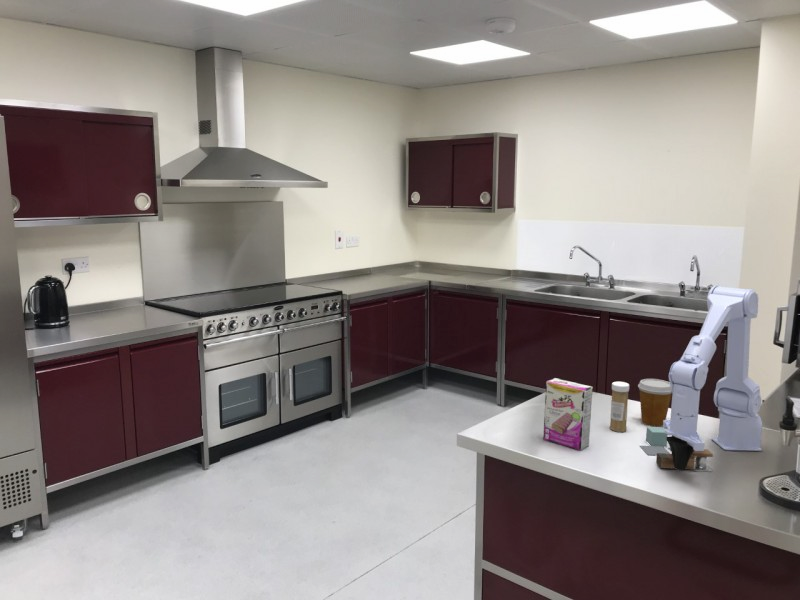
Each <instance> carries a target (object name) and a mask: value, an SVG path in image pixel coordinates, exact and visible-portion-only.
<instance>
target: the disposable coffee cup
mask: <svg viewBox="0 0 800 600" xmlns="http://www.w3.org/2000/svg"><path fill="white" fill-rule="evenodd" d="M637 387H638V389H639V399H640V417H641V423H642V424H644V425H646V426H649V425H650V426H649V427H656V426H657V427H663V420H667V416H668V411H669V407H670V403H671V399H672V393H673V392H672V391H671V390H670V381H668V380H667V381H666V380H663V379H658V378H644V379H640V381H639V383H638V384H637Z"/></svg>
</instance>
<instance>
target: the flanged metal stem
mask: <svg viewBox="0 0 800 600" xmlns="http://www.w3.org/2000/svg"><path fill="white" fill-rule="evenodd" d="M707 459H708V457H696V458H695V462H694V469H693V470H694V471H695V472H704V473H705V472H707V473H708V472H713V471H714V470H713V469H712V468H711V467H710V466H709V465H707V462H708V460H707Z"/></svg>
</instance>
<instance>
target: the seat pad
mask: <svg viewBox="0 0 800 600" xmlns="http://www.w3.org/2000/svg"><path fill="white" fill-rule="evenodd" d="M639 448H640V449H642V451H643V452H644V453H645V454H646V455H647V456H656V457H657V453H665V454H671V452H669V451H668V450H667V449H666V447H663V446H650V445H639Z"/></svg>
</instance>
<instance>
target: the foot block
mask: <svg viewBox="0 0 800 600" xmlns="http://www.w3.org/2000/svg"><path fill="white" fill-rule="evenodd" d="M665 430H666V429H664V428H663V426H660V427H656V426H646V431H645V432H646V433H645V435H646V436H645V441H647V442H648V443H649V444H650V445H651V446H663V447H664V448H667V447H668V442H667V440H666V438H667V437H669V435H667V434H666V433H665ZM647 442H646V443H647ZM648 443H647V444H648ZM649 444H648V445H649ZM650 445H649V446H650Z"/></svg>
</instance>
